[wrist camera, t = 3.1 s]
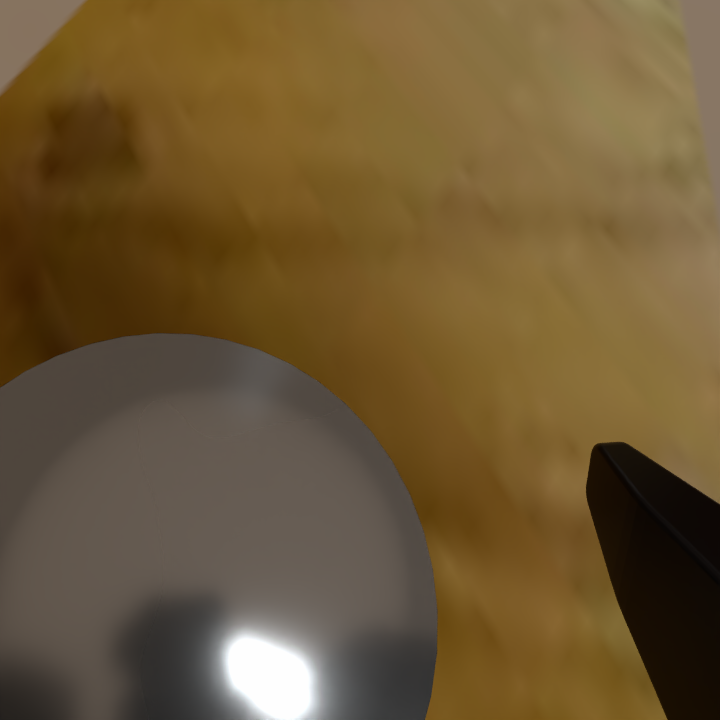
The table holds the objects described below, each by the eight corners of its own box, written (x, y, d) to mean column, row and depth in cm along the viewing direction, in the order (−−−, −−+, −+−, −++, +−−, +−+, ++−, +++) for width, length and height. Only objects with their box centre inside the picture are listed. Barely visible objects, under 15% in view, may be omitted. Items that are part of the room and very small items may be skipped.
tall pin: (344, 635, 16) (174, 1146, 3) (240, 551, 16) (-269, 681, 4) (422, 522, 16) (553, 550, 4) (318, 445, 17) (117, 237, 4)
